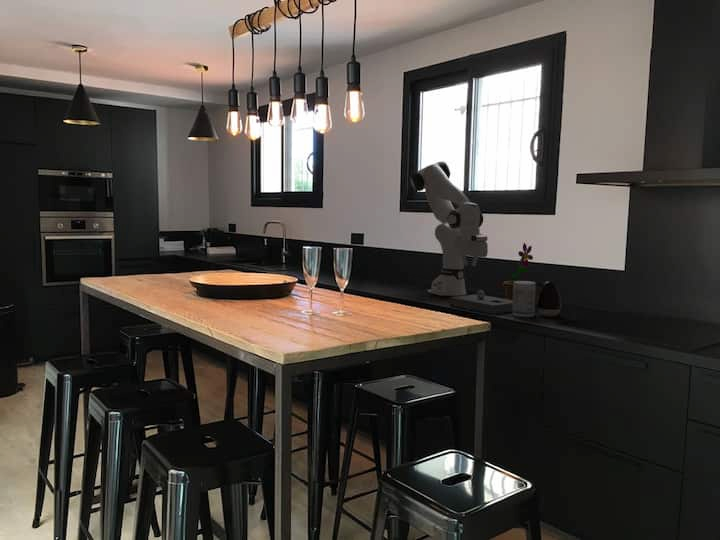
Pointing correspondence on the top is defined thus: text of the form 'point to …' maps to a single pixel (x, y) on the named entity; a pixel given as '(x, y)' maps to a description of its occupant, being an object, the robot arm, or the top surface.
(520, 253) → the flowerpot
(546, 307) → the dark brown egg shape
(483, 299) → the board
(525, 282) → the supplement tub
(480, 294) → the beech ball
